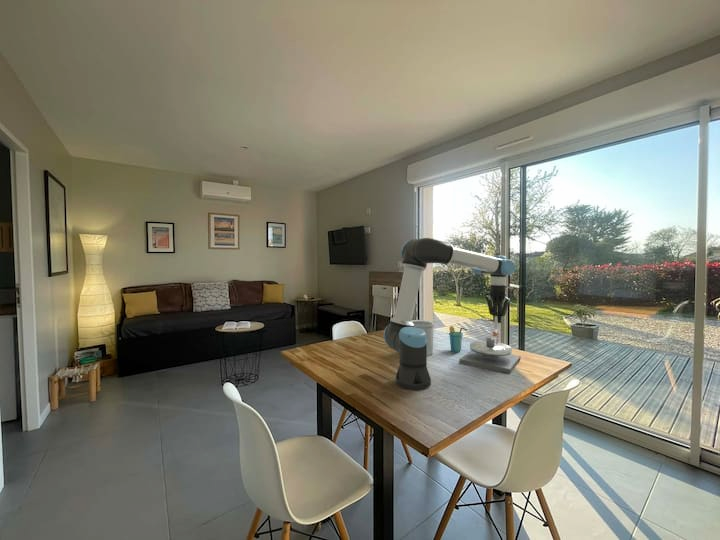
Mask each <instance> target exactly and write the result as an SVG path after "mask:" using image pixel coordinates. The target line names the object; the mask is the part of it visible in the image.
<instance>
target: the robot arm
mask: <svg viewBox="0 0 720 540" xmlns="http://www.w3.org/2000/svg"><path fill="white" fill-rule="evenodd" d="M400 256H401V257H402V263H401V265H402V266H403V273H402V279H401V282H400V288H399V293H398V297H397V303H396V306H395V311H394V312H395V313H394V316H393V317H392V318H391V319H390V320H389V323H388V325H386V326H385V328H384V330H383V340H384V342H385V343H386V345H387V346H388V347H389V348H390V349H392V350H394V351H395V352H396V353H399V365H398V368H397V372H396V373H395V374H396V376H395V384H396V386H398V387H399V388H402V389H404V390H408V391H422V390H427V389H428V388H430V387H431V386H432V380H431V375H430V372H429V370H428V366H427V363H428V361H427V360H428V359H427V358H428V356H427V338H426V333H425V332H424V331H423V330H422V329H420V328H415V327H414V324H413V322H412V321H413V317H414V312H415V307H416V303H417V299H418V293H419V289H420V283H421V278H422V273H423V272H424V271H426V269H427V265H428V264H439V265H440V264H441V265H448V264H451V265H456V266H461V267H465V268H468V269H470V270H471V273H473V274H477V275H484V274H485V275H490V283H489V284H490V287H489V288H490V289H489V295H488V296H485V297H484V298H485V301H486V303H487V307H488V312H489V315H490V316H492V322H493V323H494V326H493V327H494V330H499V329H500V328H501V327H500V326H501V323H502V318H503V317H505V316H506V313H507V311H508V307H509V303H511V298H508V297H507V295H506V292H507V289H506V287H507V276H510V275H512V274H513V273H514V272H515V270H516V263H515V262H514V261H513V260H512V259H508V258H507V256H505V255H486V254H483V253H480V252H475V251H472V250H467V249H463V248H459V247H455V246H453V244H452V243H448V242H444V241H441V240H439V239H434V238H430V237H423V238H414V239H412V238H411V239H410V240H407V241H406V242H405V243H404V244H403V245H402V247H401V250H400ZM503 301H504V302H503Z"/></svg>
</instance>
